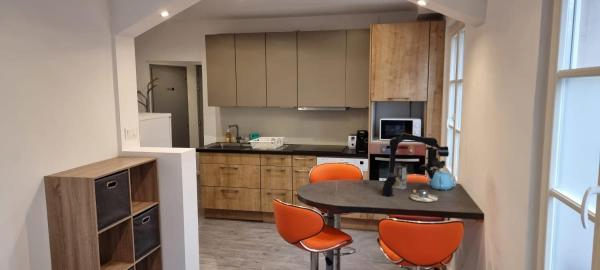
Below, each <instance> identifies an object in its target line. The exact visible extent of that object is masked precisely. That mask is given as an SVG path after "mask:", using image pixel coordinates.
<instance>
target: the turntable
mask: <svg viewBox="0 0 600 270" xmlns="http://www.w3.org/2000/svg"><path fill="white" fill-rule="evenodd" d="M438 197H439V196H437V195H435V194H432V193H428V198H421V197H419V192H417V189H413V190H412V193H411V194H409V199H411V200H413V201H417V202H422V203H425V202H427V203H431V202H432V203H433V202H437V201H439V198H438Z"/></svg>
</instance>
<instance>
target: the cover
mask: <svg viewBox="0 0 600 270" xmlns="http://www.w3.org/2000/svg"><path fill="white" fill-rule="evenodd" d="M418 193H419V197H421V198H428V194H429V190H427V189H419V190H418Z"/></svg>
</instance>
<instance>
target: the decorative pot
mask: <svg viewBox="0 0 600 270" xmlns="http://www.w3.org/2000/svg"><path fill="white" fill-rule="evenodd" d="M452 177H453V179H452ZM427 178H428V181H427V185H429V186H431V188H433V189H434V190H435V189H437V190H436V191H439V190H444V191H449V190H451V189H452V188H453V187H455V186H456V185H457V183H455V181H456V175H454V174H450V173H449V172H445V171H444V170H439V171H435V174H434V176H433V179H430V177H429V175H427ZM438 189H439V190H438Z"/></svg>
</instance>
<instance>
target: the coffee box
mask: <svg viewBox="0 0 600 270" xmlns="http://www.w3.org/2000/svg"><path fill="white" fill-rule="evenodd" d="M394 174H396V175H397V176H396V181H395V184H394V185H392V188H393V189H397V190H405V189H407V188H408V187H407V186H408V185H407V182H408V178H407V177H408V167H407V166H402V165H395V169H394Z"/></svg>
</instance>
